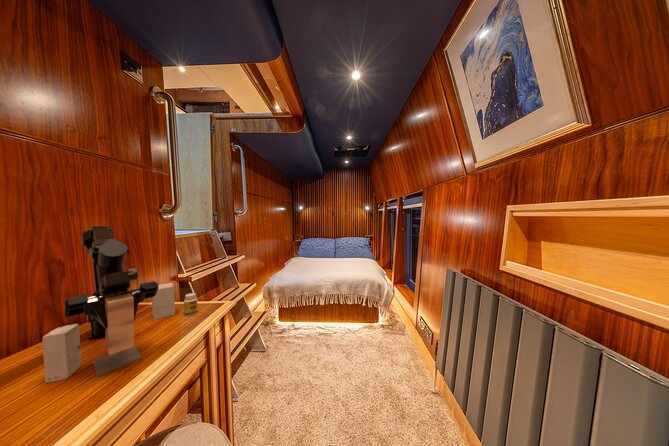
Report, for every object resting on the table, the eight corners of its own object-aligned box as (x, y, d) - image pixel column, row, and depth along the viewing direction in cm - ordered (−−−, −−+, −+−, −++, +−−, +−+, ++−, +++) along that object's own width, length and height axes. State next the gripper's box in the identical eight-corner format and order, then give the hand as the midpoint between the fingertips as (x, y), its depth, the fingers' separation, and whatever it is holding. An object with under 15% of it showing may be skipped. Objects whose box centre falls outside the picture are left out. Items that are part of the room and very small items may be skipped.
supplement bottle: (190, 316, 92) (190, 296, 92) (181, 315, 93) (181, 296, 93) (200, 311, 97) (199, 293, 97) (191, 310, 98) (190, 292, 98)
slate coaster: (93, 363, 63) (93, 360, 63) (134, 348, 70) (134, 345, 70) (97, 376, 58) (97, 373, 58) (142, 358, 65) (141, 356, 65)
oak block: (105, 348, 60) (104, 298, 60) (130, 339, 64) (129, 293, 64) (108, 355, 57) (107, 303, 57) (134, 346, 61) (133, 297, 61)
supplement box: (173, 309, 99) (172, 282, 99) (175, 315, 94) (174, 286, 93) (151, 314, 94) (151, 285, 94) (152, 320, 89) (152, 290, 88)
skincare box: (68, 378, 57) (66, 333, 57) (43, 384, 55) (40, 337, 55) (82, 364, 63) (80, 322, 62) (60, 369, 61) (58, 326, 60)
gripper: (62, 266, 55) (67, 323, 49) (156, 255, 70) (168, 298, 63) (62, 290, 60) (66, 344, 54) (149, 275, 75) (160, 316, 69)
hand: (120, 323), depth 60 cm, fingers closed on oak block, 5 cm apart
